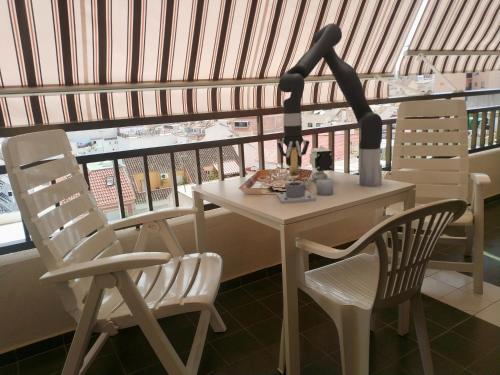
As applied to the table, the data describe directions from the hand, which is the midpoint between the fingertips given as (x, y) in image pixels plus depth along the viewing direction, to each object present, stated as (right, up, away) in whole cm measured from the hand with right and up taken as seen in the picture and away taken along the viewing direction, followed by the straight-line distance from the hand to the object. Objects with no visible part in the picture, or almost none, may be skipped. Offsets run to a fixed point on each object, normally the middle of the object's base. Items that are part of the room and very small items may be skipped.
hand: (293, 165), depth 160 cm
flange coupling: (+1, -14, +3) cm, 14 cm away
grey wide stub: (+15, -12, +7) cm, 20 cm away
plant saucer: (-1, -10, +21) cm, 24 cm away
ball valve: (+17, -6, +32) cm, 37 cm away
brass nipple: (0, -4, +1) cm, 4 cm away
